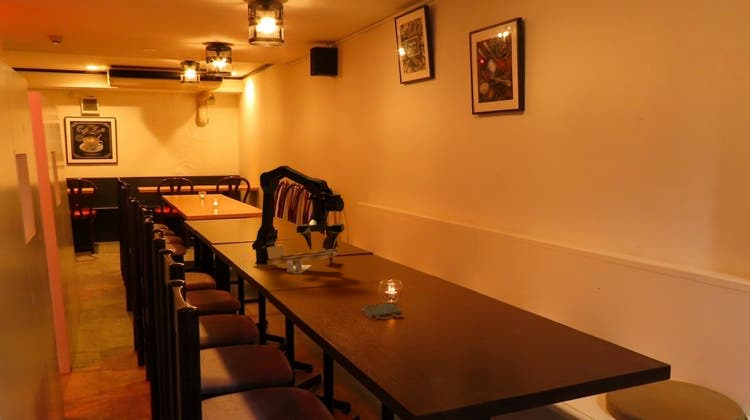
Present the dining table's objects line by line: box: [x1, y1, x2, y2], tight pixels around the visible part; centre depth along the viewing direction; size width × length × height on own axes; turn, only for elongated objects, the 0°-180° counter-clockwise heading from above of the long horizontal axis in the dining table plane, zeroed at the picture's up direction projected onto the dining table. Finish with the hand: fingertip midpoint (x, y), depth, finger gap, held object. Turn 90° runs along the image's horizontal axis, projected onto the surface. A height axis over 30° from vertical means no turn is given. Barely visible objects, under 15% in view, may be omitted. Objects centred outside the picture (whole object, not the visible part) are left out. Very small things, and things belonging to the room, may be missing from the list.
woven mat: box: [361, 302, 405, 321], centre depth 176 cm, size 10×11×2 cm
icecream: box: [321, 230, 339, 263], centre depth 257 cm, size 7×7×15 cm
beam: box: [266, 248, 339, 266], centre depth 240 cm, size 28×8×2 cm, turn 80°
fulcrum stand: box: [286, 261, 313, 275], centre depth 241 cm, size 10×16×5 cm, turn 170°
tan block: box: [267, 243, 285, 260], centre depth 242 cm, size 5×5×6 cm
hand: (321, 249), depth 239 cm, fingers open, 9 cm apart
